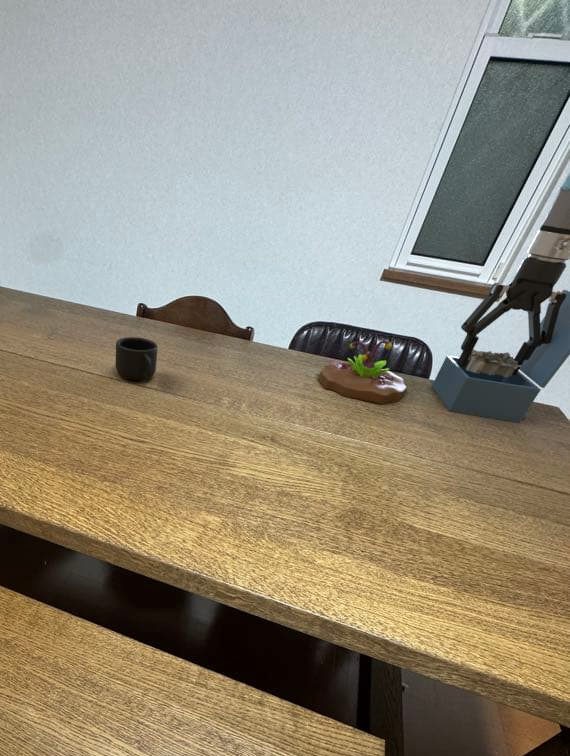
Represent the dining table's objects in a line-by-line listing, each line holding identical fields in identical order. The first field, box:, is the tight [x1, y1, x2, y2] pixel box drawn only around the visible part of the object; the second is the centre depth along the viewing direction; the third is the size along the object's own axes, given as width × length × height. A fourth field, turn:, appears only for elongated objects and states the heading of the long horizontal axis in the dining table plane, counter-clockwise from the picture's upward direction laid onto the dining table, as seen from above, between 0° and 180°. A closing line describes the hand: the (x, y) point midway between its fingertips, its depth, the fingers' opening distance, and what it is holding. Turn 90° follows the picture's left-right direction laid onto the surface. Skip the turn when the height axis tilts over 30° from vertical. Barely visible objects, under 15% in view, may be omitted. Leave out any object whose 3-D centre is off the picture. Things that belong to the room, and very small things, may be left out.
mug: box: [114, 336, 159, 382], centre depth 98 cm, size 12×9×7 cm
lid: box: [518, 289, 570, 389], centre depth 98 cm, size 16×16×5 cm
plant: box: [318, 339, 408, 405], centre depth 107 cm, size 20×20×11 cm
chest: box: [431, 355, 542, 423], centre depth 107 cm, size 16×16×8 cm
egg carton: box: [465, 348, 521, 377], centre depth 103 cm, size 11×8×4 cm
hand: (485, 369), depth 104 cm, fingers closed on egg carton, 11 cm apart
